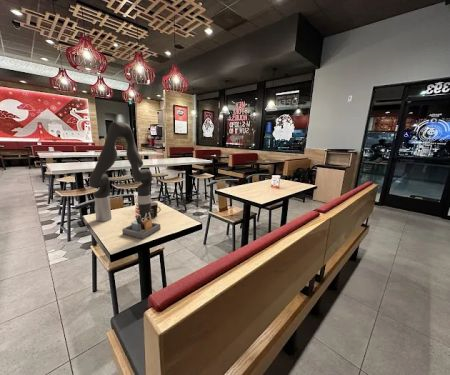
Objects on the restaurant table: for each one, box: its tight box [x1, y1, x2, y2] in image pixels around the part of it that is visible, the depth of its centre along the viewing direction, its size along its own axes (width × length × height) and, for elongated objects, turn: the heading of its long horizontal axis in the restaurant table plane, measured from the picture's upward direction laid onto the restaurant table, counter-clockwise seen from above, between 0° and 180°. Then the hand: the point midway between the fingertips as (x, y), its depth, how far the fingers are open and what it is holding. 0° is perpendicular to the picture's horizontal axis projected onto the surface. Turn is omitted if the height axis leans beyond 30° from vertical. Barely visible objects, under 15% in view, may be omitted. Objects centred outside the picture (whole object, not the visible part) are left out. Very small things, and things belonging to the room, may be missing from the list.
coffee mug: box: [151, 201, 162, 219], centre depth 160 cm, size 12×9×10 cm
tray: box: [121, 220, 161, 240], centre depth 136 cm, size 16×16×4 cm
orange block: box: [140, 218, 153, 231], centre depth 134 cm, size 5×5×5 cm
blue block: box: [130, 220, 141, 232], centre depth 137 cm, size 5×5×5 cm
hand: (146, 227), depth 134 cm, fingers closed on orange block, 5 cm apart
